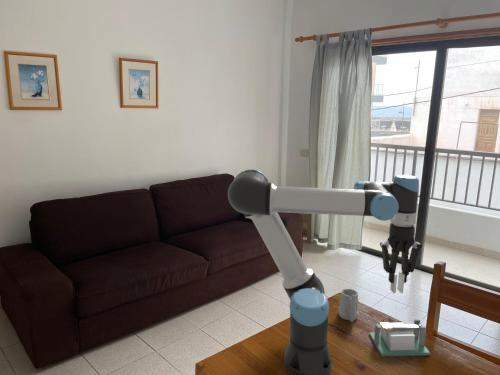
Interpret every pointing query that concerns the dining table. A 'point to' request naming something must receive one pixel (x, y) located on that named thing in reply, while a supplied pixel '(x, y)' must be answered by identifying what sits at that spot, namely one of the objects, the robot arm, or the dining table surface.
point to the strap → (399, 326)
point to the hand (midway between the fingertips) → (396, 291)
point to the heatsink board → (400, 341)
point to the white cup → (349, 304)
